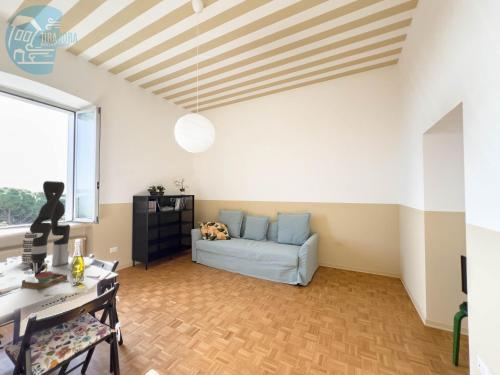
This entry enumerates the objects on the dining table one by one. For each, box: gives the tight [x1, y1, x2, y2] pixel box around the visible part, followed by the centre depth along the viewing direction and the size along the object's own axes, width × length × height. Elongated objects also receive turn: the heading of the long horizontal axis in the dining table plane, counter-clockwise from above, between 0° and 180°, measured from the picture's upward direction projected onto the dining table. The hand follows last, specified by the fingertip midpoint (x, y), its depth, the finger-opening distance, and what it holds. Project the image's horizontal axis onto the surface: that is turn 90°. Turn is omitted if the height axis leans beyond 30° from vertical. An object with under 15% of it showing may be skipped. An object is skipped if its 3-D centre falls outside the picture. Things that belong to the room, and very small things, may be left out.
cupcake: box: [35, 265, 54, 284], centre depth 139 cm, size 9×8×12 cm
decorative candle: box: [21, 231, 39, 264], centre depth 175 cm, size 9×9×25 cm
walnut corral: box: [21, 270, 68, 290], centre depth 138 cm, size 16×15×4 cm
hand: (37, 277), depth 140 cm, fingers closed
